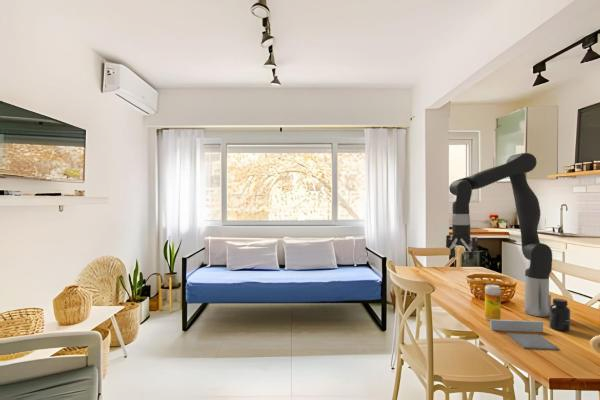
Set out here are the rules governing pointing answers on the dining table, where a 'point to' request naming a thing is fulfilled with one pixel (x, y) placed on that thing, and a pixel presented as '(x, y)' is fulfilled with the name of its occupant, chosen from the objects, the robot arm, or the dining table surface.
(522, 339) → the slate coaster
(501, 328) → the acrylic wall
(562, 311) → the supplement bottle
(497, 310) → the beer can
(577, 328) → the dining table surface
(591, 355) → the dining table surface
